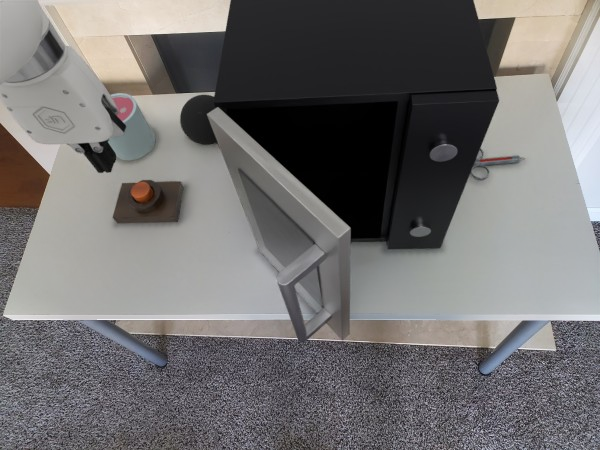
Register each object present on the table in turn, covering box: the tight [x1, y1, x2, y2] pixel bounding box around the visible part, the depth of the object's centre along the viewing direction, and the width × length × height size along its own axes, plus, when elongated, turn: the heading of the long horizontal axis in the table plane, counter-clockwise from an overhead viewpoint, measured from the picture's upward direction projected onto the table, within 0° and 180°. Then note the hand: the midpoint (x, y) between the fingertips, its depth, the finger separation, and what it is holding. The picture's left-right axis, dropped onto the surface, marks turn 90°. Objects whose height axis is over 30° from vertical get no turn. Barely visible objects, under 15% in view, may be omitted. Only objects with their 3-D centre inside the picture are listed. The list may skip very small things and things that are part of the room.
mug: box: [108, 92, 157, 161], centre depth 92 cm, size 14×9×10 cm
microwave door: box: [207, 107, 352, 343], centre depth 59 cm, size 7×22×35 cm, turn 40°
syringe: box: [470, 148, 528, 181], centre depth 84 cm, size 8×18×2 cm, turn 92°
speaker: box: [179, 94, 218, 146], centre depth 90 cm, size 10×10×10 cm
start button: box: [131, 181, 153, 203], centre depth 83 cm, size 4×4×2 cm
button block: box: [112, 179, 185, 224], centre depth 85 cm, size 8×12×4 cm, turn 88°
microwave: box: [213, 0, 500, 250], centre depth 70 cm, size 30×31×35 cm
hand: (107, 164), depth 60 cm, fingers closed
